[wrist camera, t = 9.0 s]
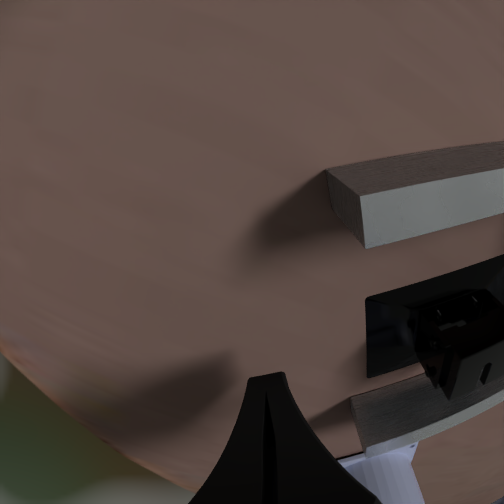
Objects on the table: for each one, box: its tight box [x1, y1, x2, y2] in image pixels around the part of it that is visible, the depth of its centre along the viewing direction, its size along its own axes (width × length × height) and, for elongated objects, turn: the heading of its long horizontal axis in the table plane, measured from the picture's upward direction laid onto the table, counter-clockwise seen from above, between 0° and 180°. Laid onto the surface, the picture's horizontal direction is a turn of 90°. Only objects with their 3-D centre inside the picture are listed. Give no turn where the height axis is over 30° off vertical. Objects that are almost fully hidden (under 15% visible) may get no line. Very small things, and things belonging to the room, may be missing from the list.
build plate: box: [365, 254, 504, 401], centre depth 13 cm, size 12×7×5 cm, turn 103°
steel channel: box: [325, 141, 504, 459], centre depth 12 cm, size 14×15×4 cm
